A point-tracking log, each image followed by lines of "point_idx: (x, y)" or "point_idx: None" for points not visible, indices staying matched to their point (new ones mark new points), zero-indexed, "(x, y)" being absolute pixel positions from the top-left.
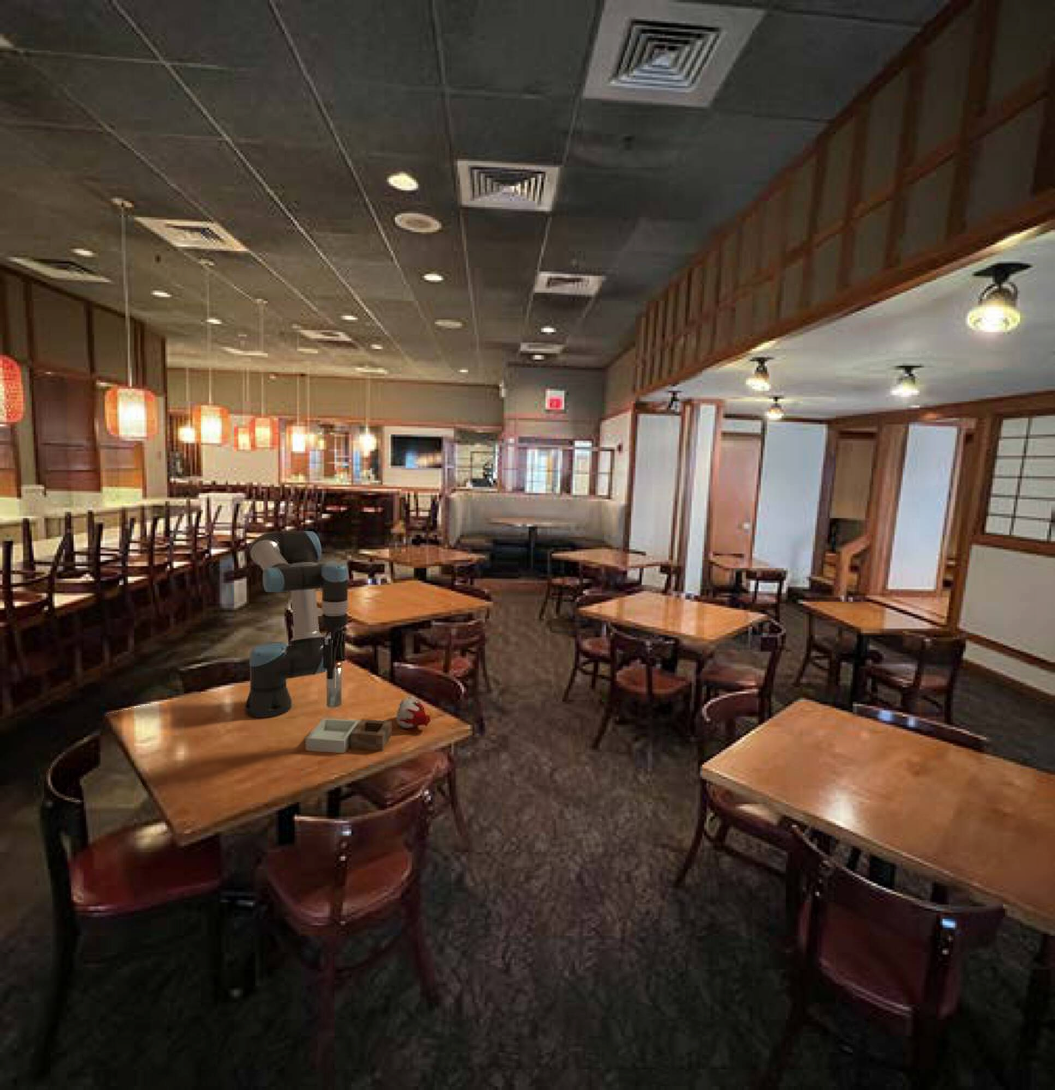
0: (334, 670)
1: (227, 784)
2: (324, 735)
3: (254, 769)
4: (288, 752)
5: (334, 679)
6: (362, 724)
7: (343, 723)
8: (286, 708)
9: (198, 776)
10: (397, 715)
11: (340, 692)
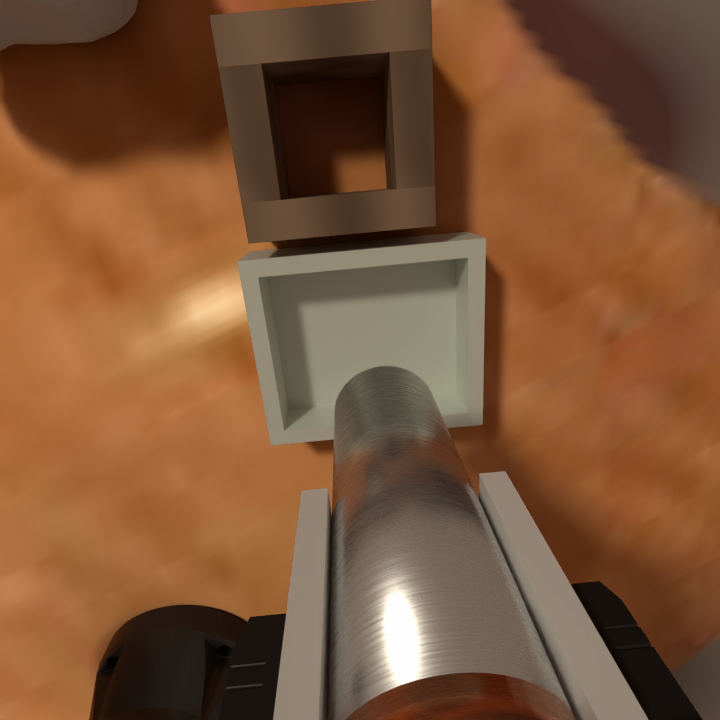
0: (627, 689)
1: (703, 508)
2: None
3: (613, 487)
4: (490, 447)
5: (549, 553)
6: (312, 207)
7: (271, 340)
8: (188, 619)
9: (654, 596)
10: (98, 8)
11: (404, 416)
